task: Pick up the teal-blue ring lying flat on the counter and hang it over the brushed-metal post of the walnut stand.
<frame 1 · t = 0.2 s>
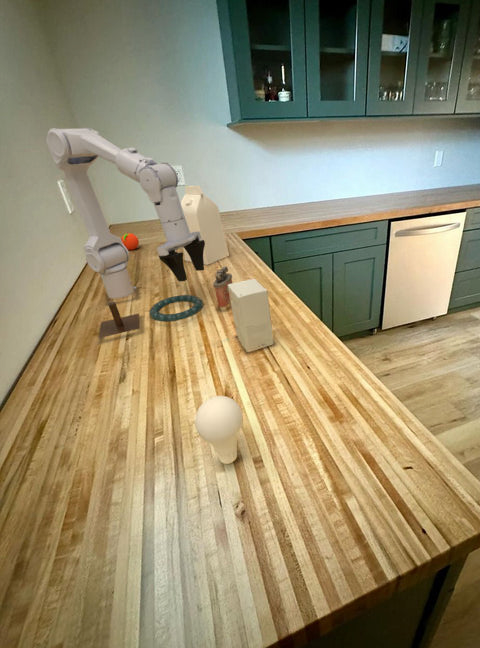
hand: (191, 275, 85), 10 cm above the table, tool pointing down, fingers open, 7 cm apart
ring: (177, 308, 89), point 1 cm above the table
lighter: (227, 304, 93), on the table
stand: (121, 329, 84), on the table
milk: (207, 258, 130), on the table
lightbulb: (229, 460, 48), on the table
small box: (254, 341, 76), on the table
clementine: (132, 250, 147), on the table
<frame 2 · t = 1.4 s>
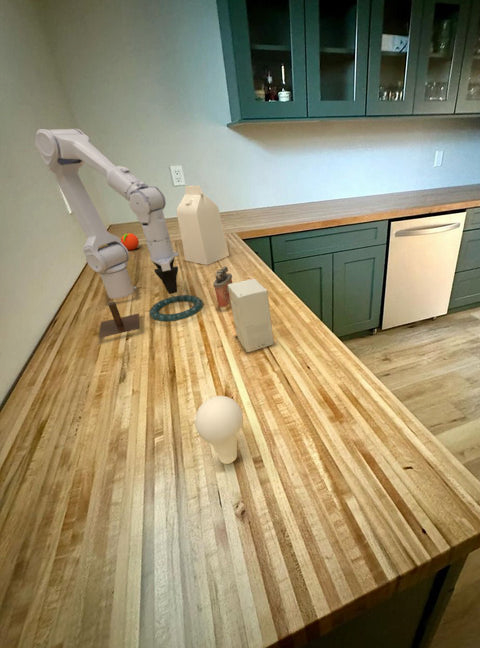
hand: (171, 288, 92), 5 cm above the table, tool pointing down, fingers open, 7 cm apart
nothing on the table moved.
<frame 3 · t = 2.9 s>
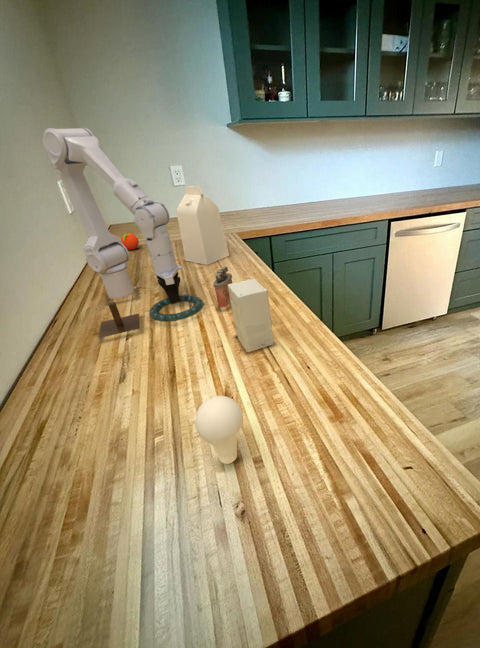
hand: (174, 300, 94), 1 cm above the table, tool pointing down, fingers closed on ring, 2 cm apart
ring: (177, 308, 90), point 1 cm above the table, touching gripper
everything else where it was.
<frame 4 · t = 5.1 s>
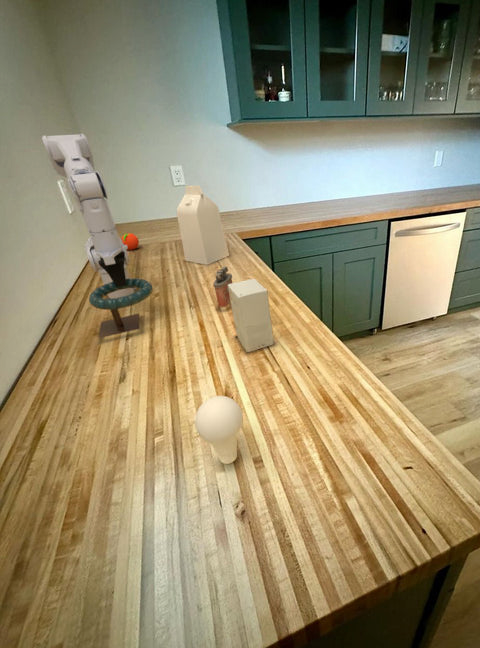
hand: (121, 283, 85), 9 cm above the table, tool pointing down, fingers closed on ring, 2 cm apart
ring: (121, 293, 81), point 9 cm above the table, touching gripper
everything else where it was.
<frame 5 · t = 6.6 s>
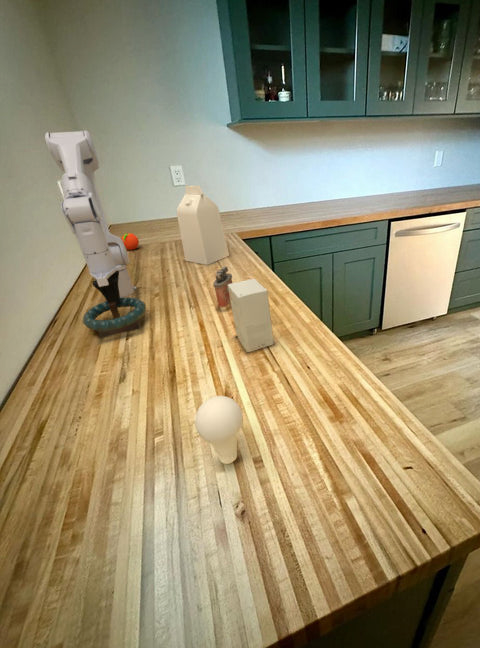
hand: (115, 302, 86), 5 cm above the table, tool pointing down, fingers closed on ring, 2 cm apart
ring: (115, 313, 82), point 5 cm above the table, touching gripper
everything else where it was.
when the fingers open (3 cm above the table, at t = 7.6 s): ring stays where it is, resting on stand.
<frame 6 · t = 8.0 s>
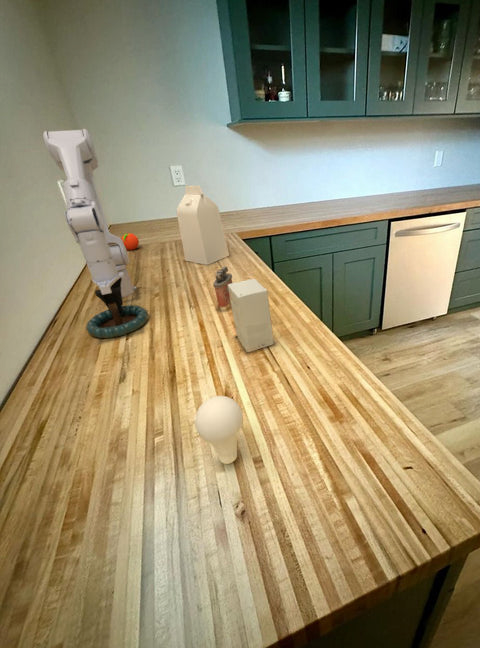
hand: (118, 309, 87), 3 cm above the table, tool pointing down, fingers open, 5 cm apart
ring: (118, 320, 83), point 2 cm above the table, touching stand
everything else where it was.
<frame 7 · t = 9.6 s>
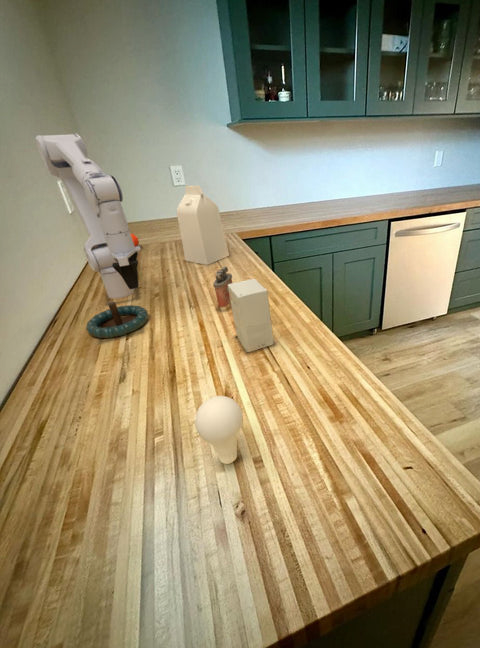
hand: (134, 284, 87), 8 cm above the table, tool pointing down, fingers open, 5 cm apart
nothing on the table moved.
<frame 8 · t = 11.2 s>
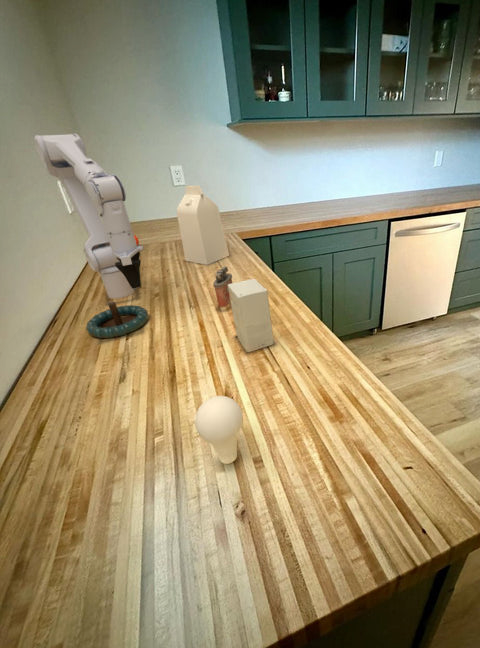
hand: (136, 283, 87), 8 cm above the table, tool pointing down, fingers open, 5 cm apart
nothing on the table moved.
at the end: ring 0.1 cm from the stand (horizontally); ring point 2.4 cm above the table; the gripper is holding nothing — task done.
